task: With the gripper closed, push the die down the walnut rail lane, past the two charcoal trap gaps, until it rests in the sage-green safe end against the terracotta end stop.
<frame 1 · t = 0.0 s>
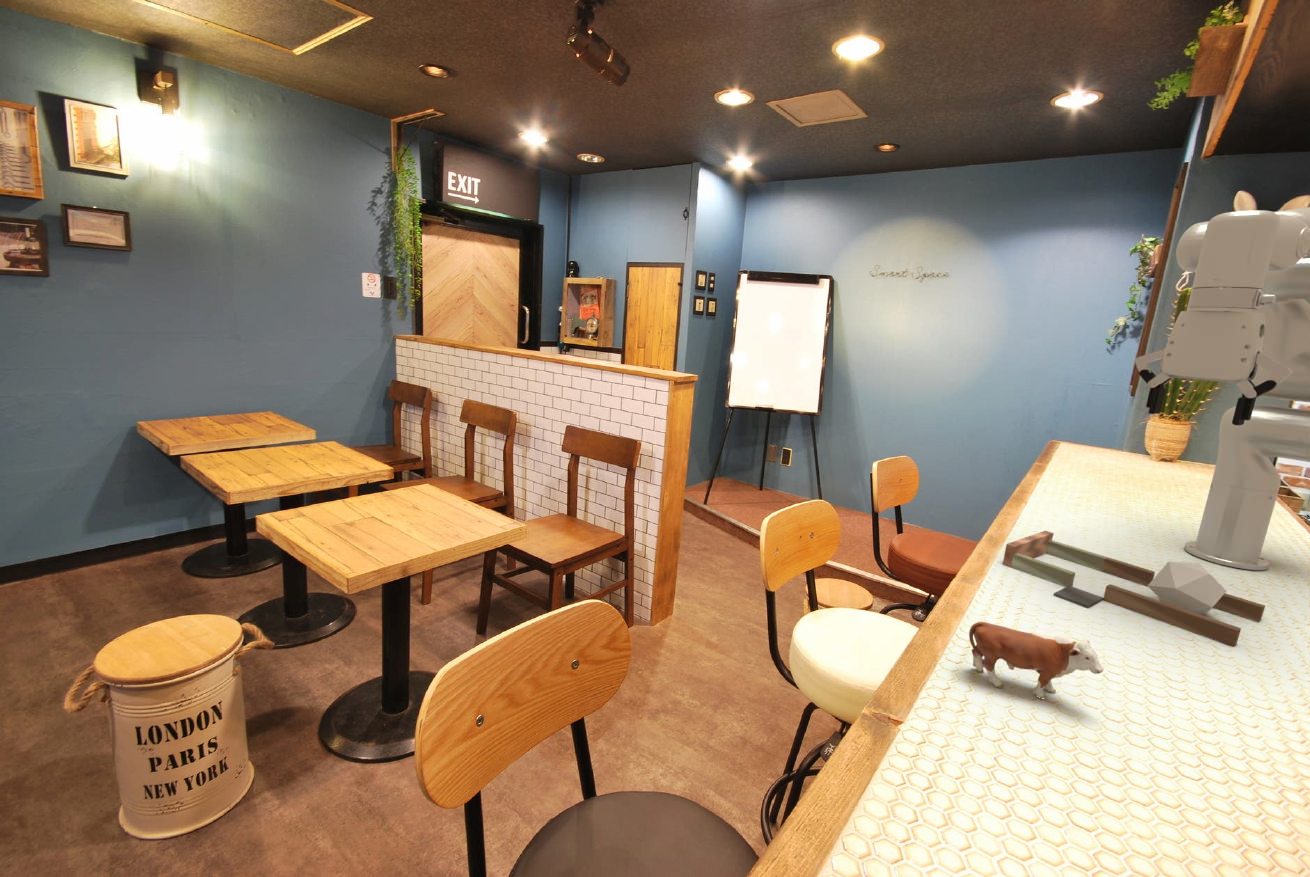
hand: (1194, 418, 88), 31 cm above the bar counter, tool pointing down, fingers open, 9 cm apart
die: (1180, 611, 95), on the bar counter
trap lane: (1121, 589, 102), on the bar counter
bull figurine: (1023, 690, 71), on the bar counter
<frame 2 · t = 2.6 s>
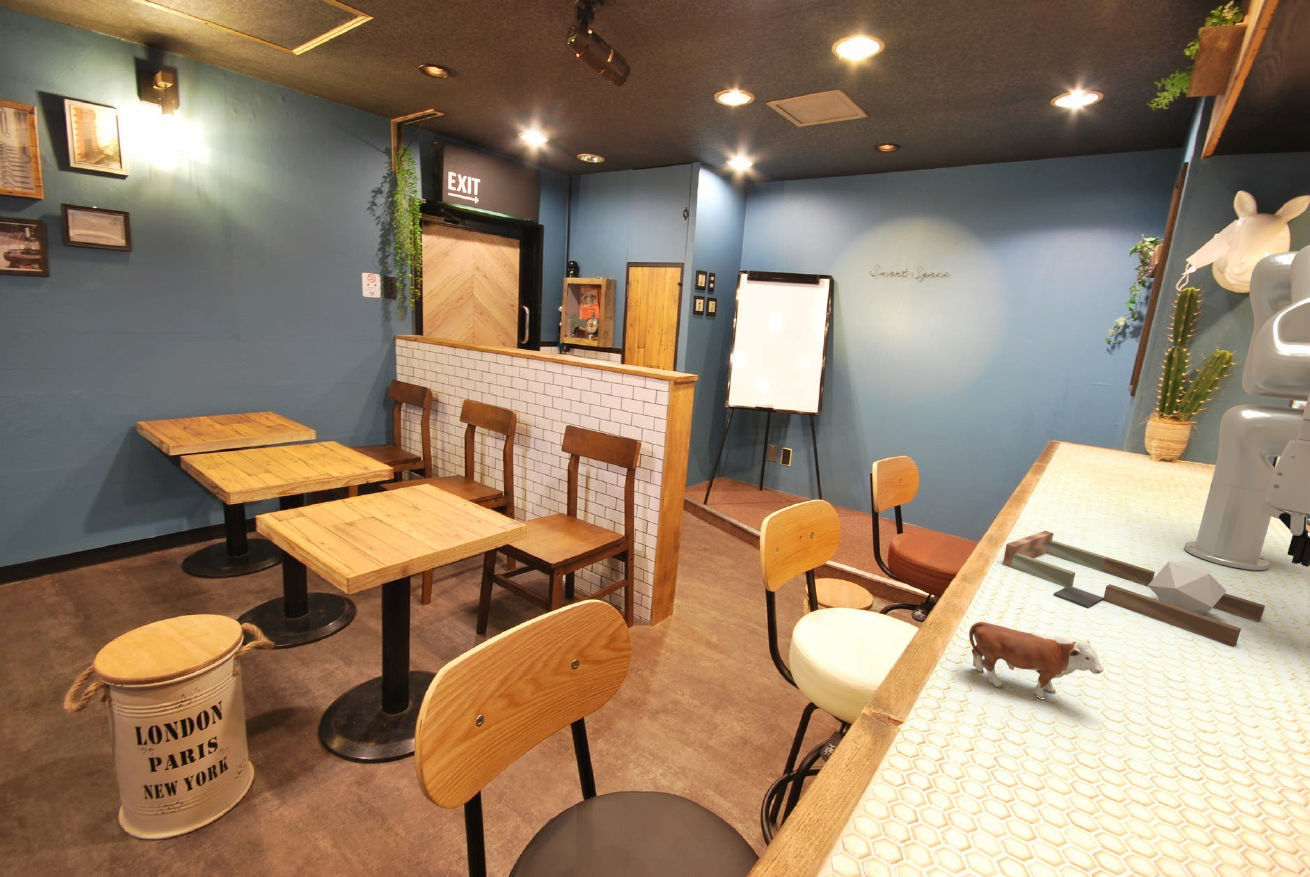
hand: (1301, 563, 83), 13 cm above the bar counter, tool pointing down, fingers closed
nothing on the bar counter moved.
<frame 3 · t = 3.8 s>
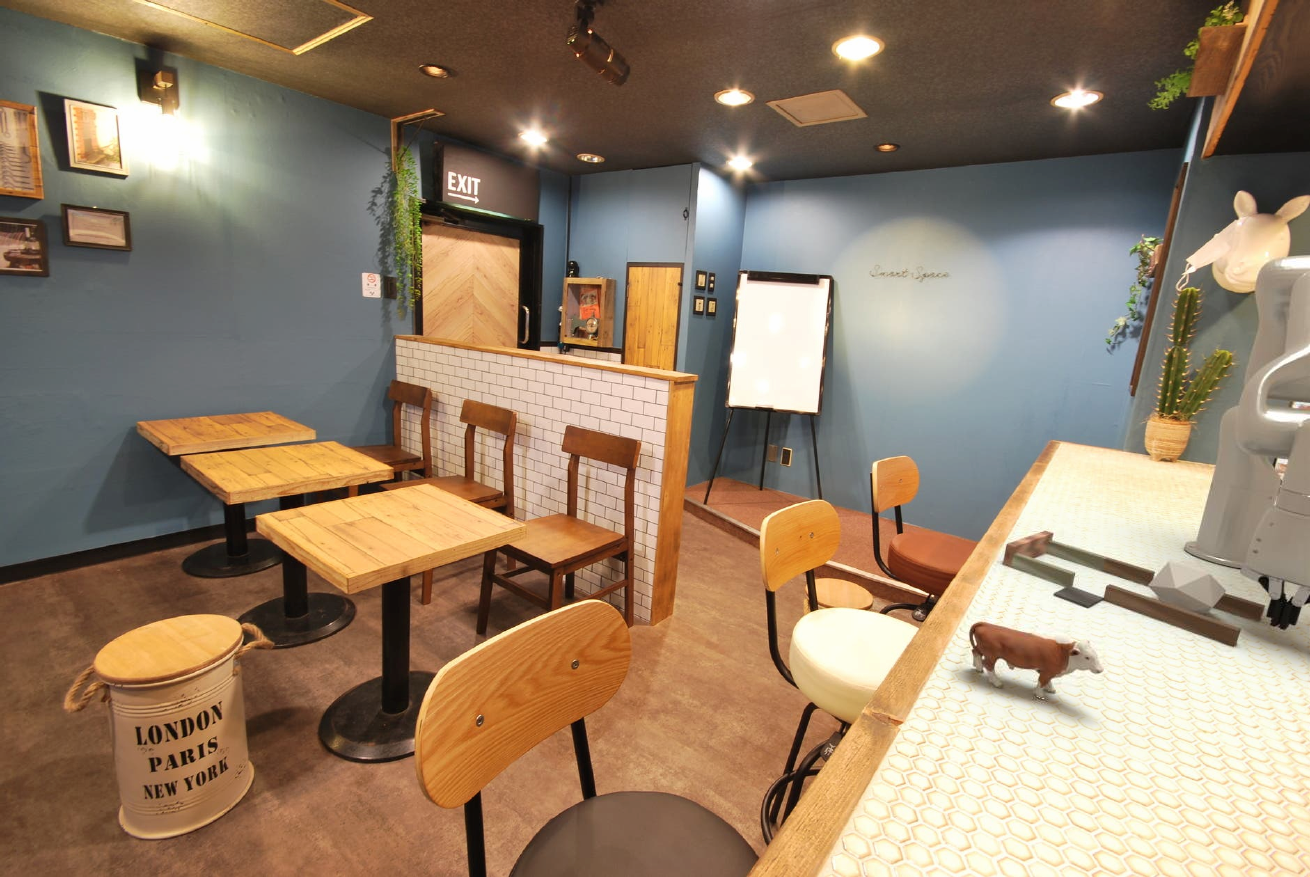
hand: (1279, 625, 86), 3 cm above the bar counter, tool pointing down, fingers closed
nothing on the bar counter moved.
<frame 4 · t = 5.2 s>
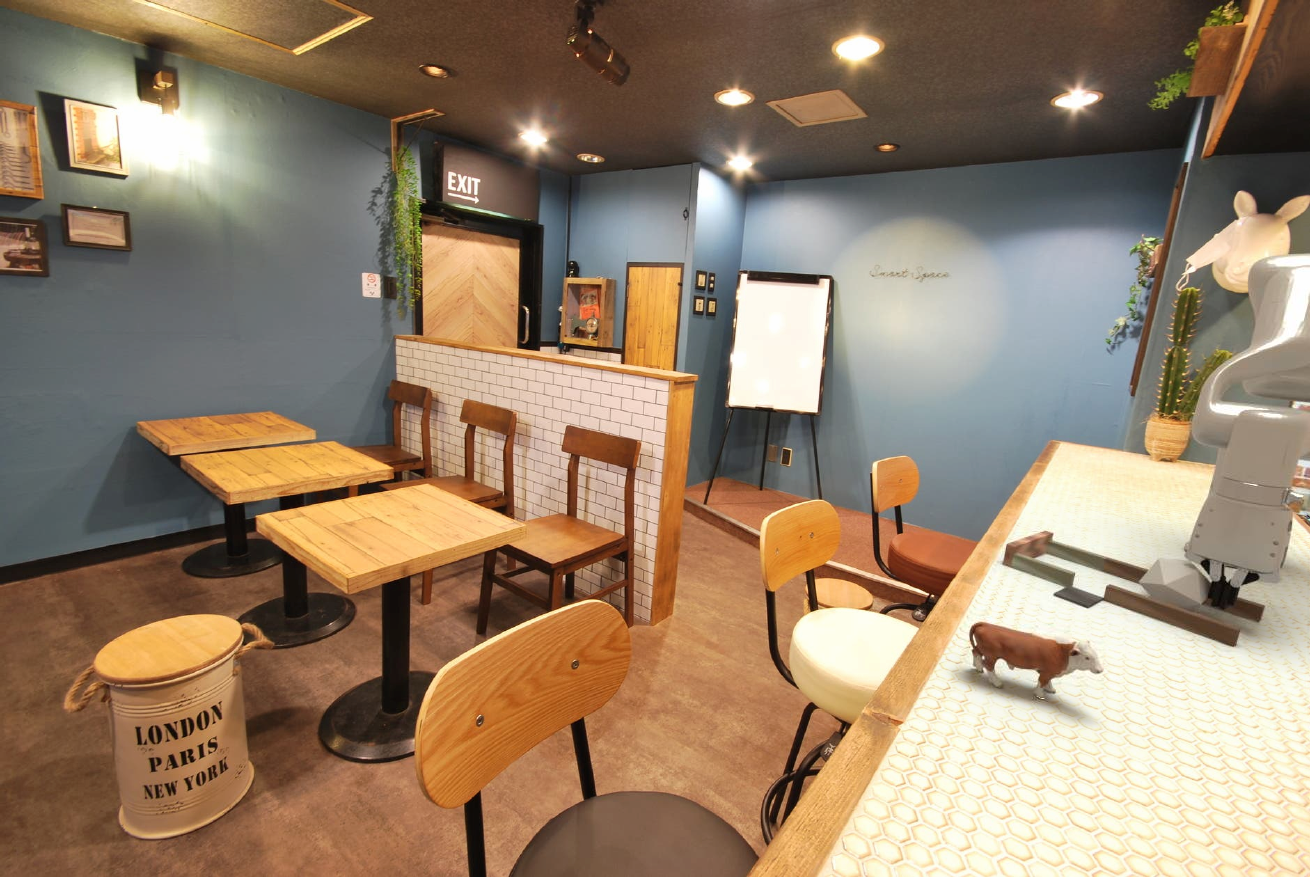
hand: (1219, 605, 91), 3 cm above the bar counter, tool pointing down, fingers closed
die: (1170, 607, 96), on the bar counter, touching gripper
everything else where it was.
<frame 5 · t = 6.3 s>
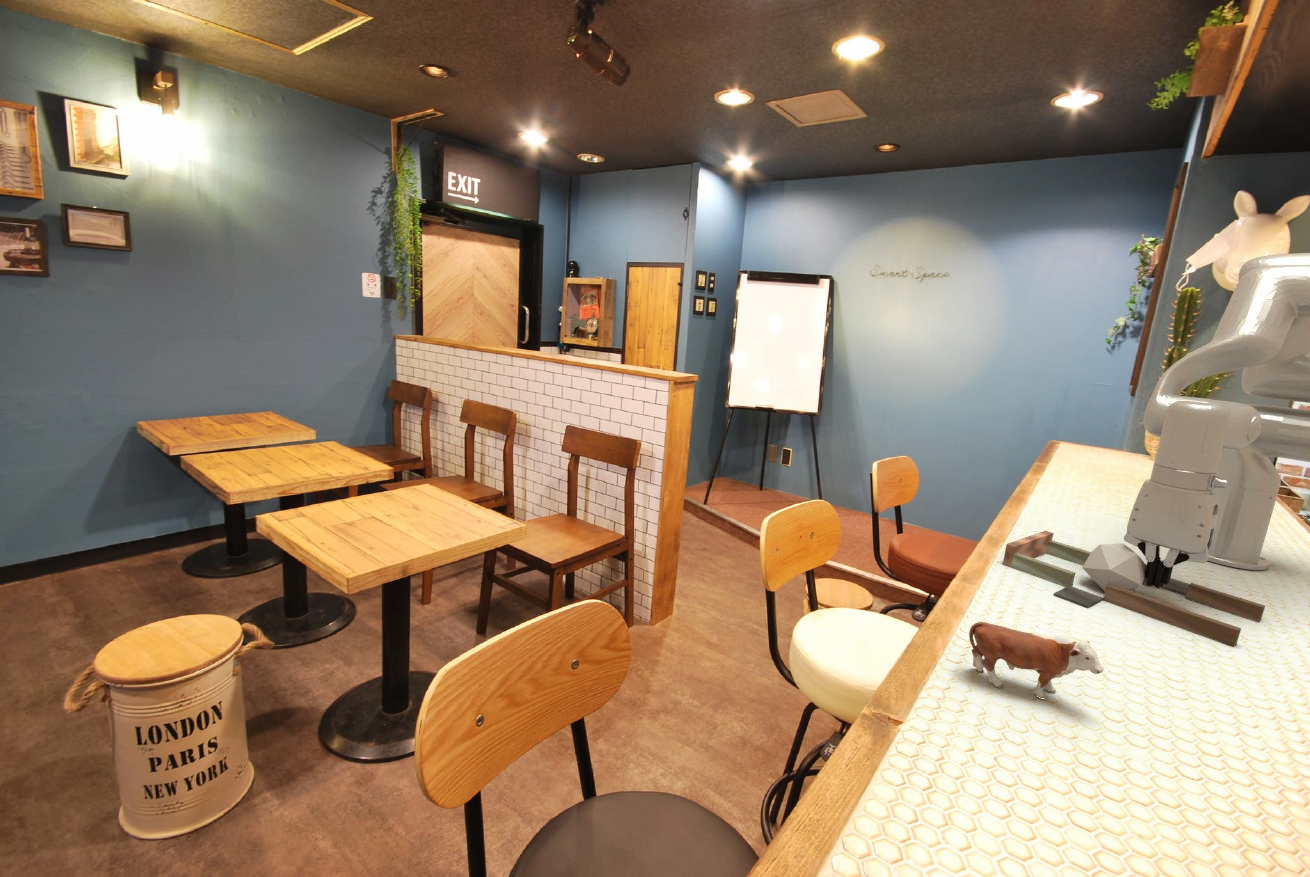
hand: (1155, 584, 98), 3 cm above the bar counter, tool pointing down, fingers closed
die: (1109, 589, 102), on the bar counter, touching gripper
everything else where it was.
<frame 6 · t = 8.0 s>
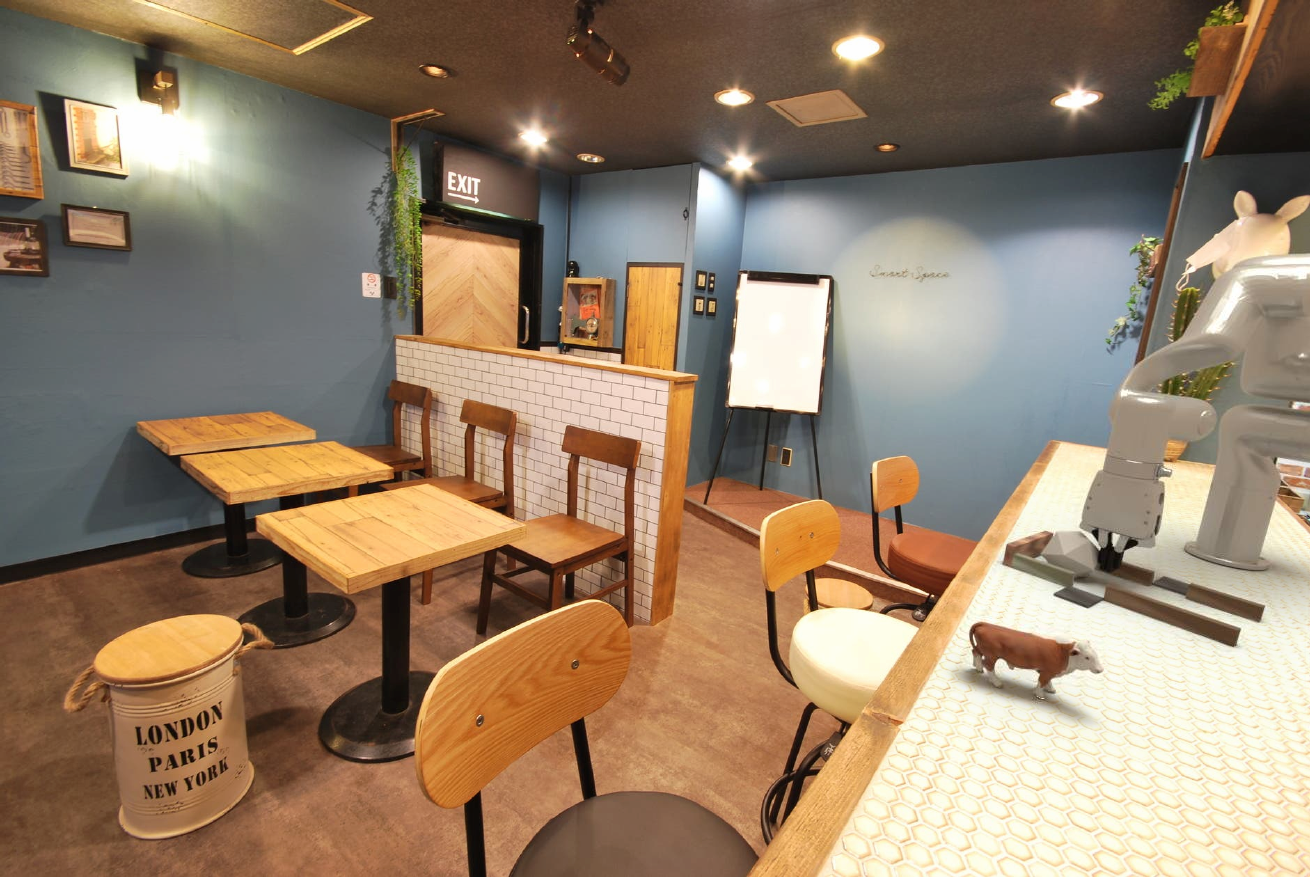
hand: (1107, 569, 103), 3 cm above the bar counter, tool pointing down, fingers closed
die: (1066, 574, 107), on the bar counter, touching gripper
everything else where it was.
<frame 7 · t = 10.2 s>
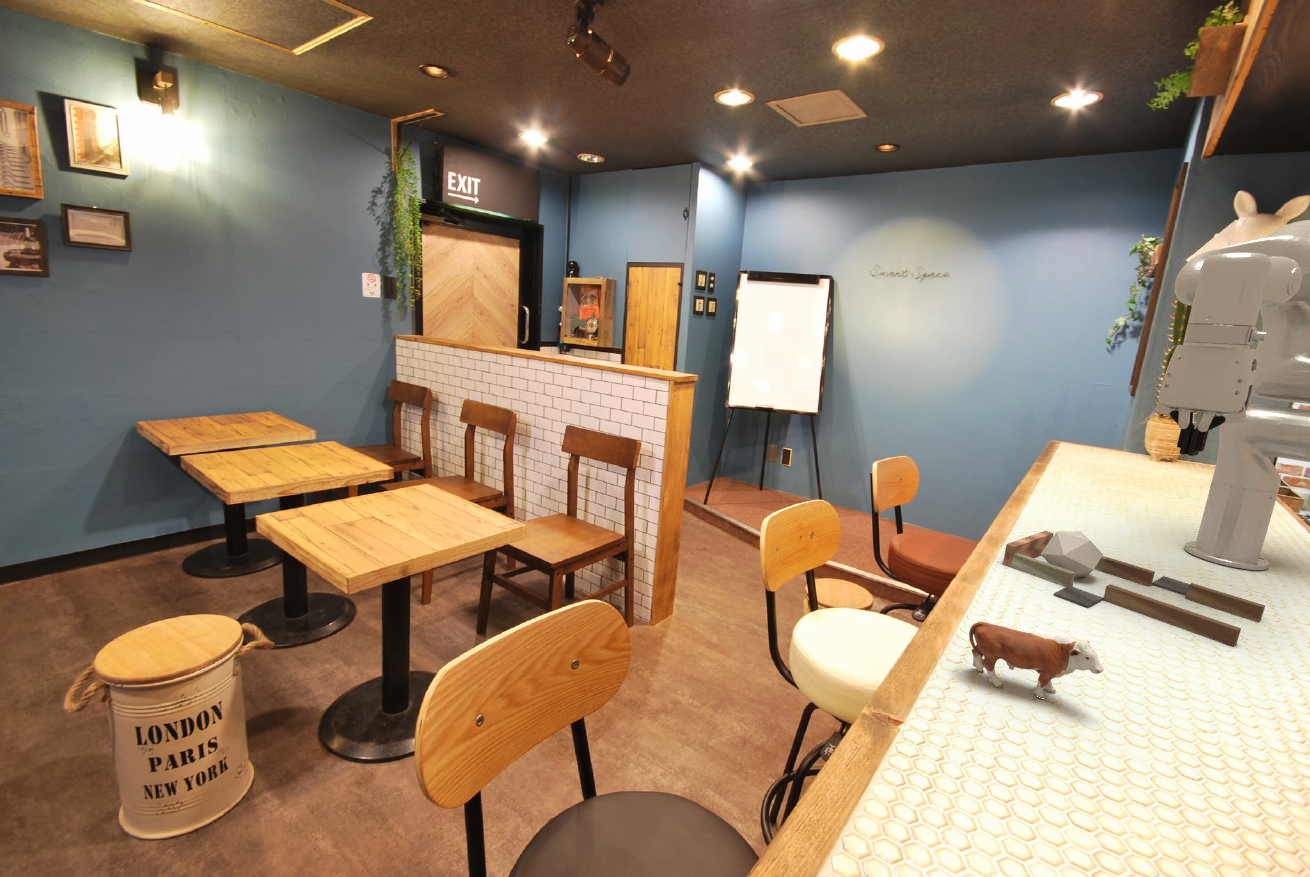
hand: (1188, 454, 93), 25 cm above the bar counter, tool pointing down, fingers closed
die: (1066, 574, 107), on the bar counter
everything else where it was.
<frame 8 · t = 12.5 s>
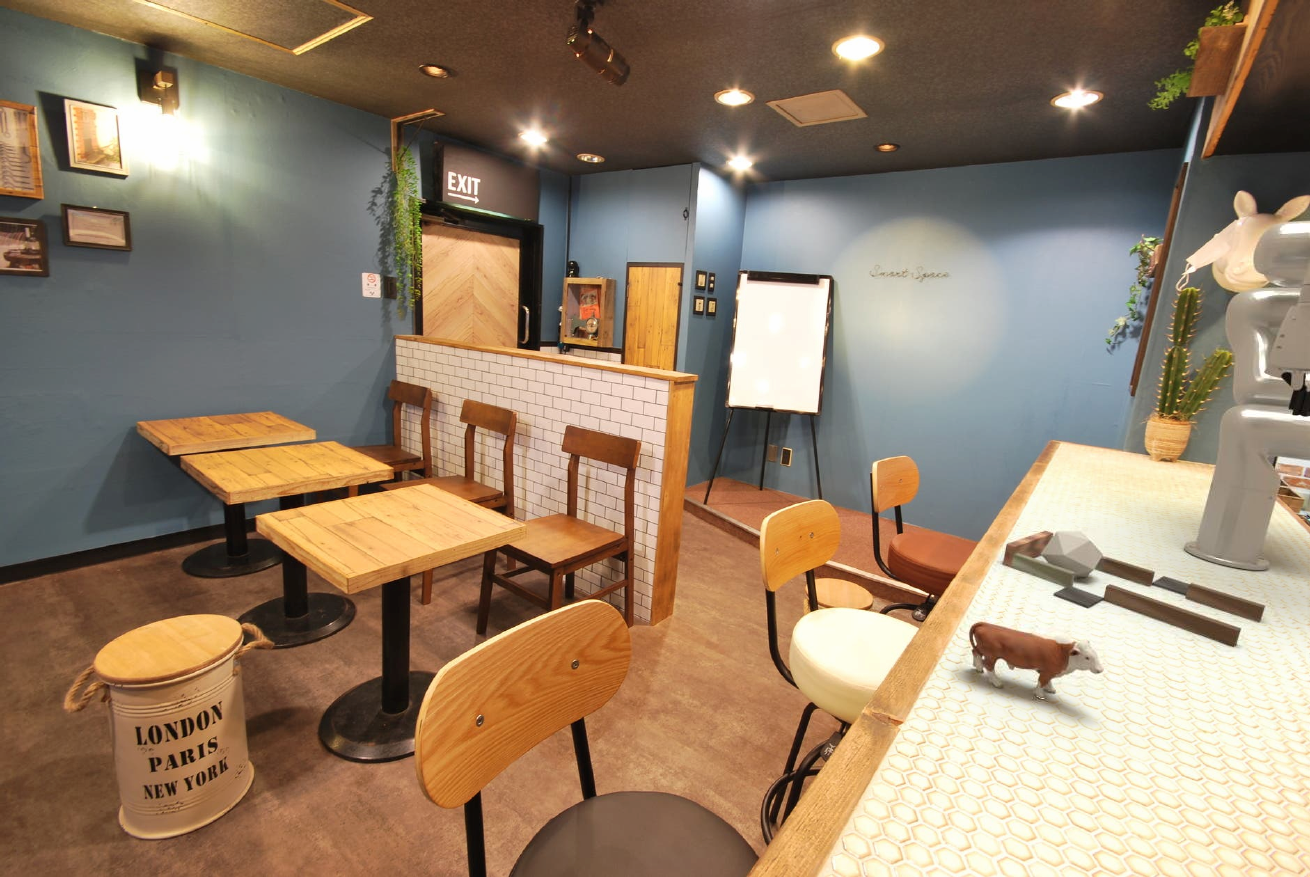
hand: (1301, 415, 94), 32 cm above the bar counter, tool pointing down, fingers closed
nothing on the bar counter moved.
at the end: die inside the target area (1.6 cm from its centre), on the bar counter; die tilted 0°; die touching bar counter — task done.
